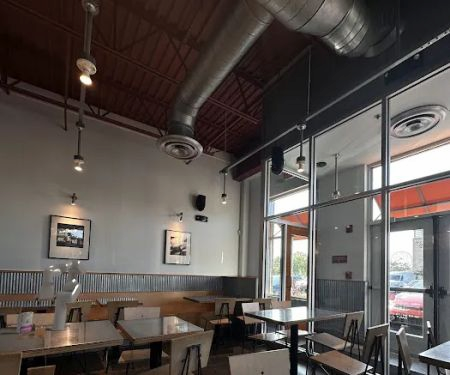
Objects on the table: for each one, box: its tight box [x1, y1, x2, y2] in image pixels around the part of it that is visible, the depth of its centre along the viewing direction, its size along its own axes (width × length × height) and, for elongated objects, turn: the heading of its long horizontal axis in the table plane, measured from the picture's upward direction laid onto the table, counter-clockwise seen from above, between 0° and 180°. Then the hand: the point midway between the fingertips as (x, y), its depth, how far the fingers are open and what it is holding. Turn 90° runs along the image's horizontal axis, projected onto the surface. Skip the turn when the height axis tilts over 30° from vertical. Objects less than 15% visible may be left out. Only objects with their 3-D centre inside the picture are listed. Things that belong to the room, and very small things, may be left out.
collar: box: [34, 326, 46, 336], centre depth 277 cm, size 7×7×5 cm
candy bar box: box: [15, 311, 35, 334], centre depth 285 cm, size 11×5×16 cm, turn 161°
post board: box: [16, 325, 48, 340], centre depth 272 cm, size 20×20×8 cm
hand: (45, 305), depth 287 cm, fingers open, 9 cm apart
